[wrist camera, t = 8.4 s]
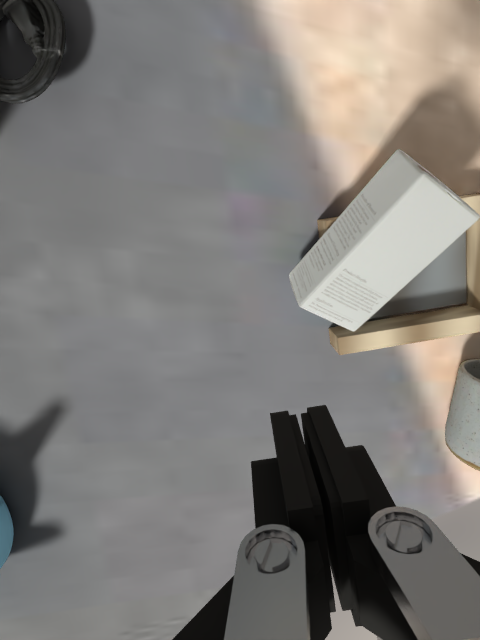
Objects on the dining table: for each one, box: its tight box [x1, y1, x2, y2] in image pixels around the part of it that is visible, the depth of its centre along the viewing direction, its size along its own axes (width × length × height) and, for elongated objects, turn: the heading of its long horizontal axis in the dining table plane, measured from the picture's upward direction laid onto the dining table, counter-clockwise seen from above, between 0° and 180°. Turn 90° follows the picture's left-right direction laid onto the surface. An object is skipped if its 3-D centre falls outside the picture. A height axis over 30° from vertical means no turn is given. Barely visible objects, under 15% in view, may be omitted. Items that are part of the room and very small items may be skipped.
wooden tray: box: [317, 193, 480, 355], centre depth 34 cm, size 14×11×3 cm
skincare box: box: [289, 149, 480, 332], centre depth 29 cm, size 6×4×12 cm
